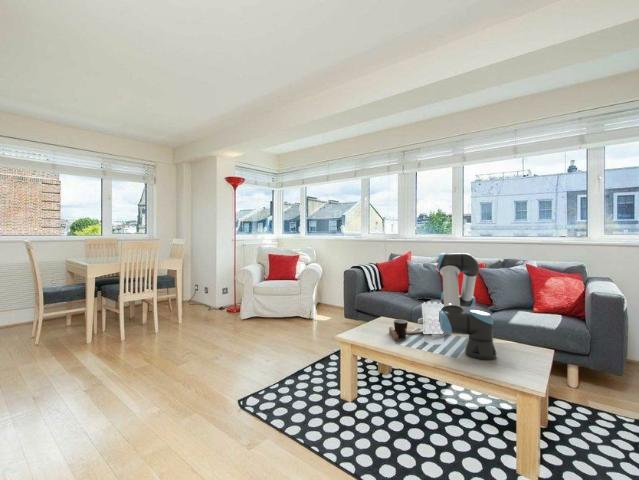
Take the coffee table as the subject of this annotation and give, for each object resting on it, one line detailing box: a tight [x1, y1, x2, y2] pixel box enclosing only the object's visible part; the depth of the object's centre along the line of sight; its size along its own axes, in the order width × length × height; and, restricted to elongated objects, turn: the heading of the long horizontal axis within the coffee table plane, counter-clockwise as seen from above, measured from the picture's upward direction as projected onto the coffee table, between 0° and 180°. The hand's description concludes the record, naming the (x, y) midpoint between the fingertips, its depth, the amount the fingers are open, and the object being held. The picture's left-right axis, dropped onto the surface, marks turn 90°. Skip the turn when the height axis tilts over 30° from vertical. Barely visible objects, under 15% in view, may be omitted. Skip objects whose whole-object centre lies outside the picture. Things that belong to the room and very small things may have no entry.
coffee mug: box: [393, 319, 409, 339], centre depth 204 cm, size 12×9×10 cm
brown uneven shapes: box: [388, 326, 423, 342], centre depth 205 cm, size 17×27×13 cm, turn 90°
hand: (424, 323), depth 208 cm, fingers open, 8 cm apart
